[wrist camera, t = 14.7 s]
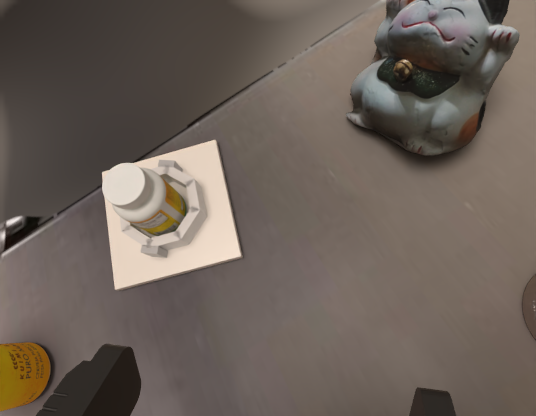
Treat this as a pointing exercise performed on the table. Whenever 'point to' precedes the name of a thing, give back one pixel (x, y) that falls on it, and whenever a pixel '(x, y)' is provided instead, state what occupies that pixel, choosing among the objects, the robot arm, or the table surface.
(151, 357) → the table surface
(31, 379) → the beer can
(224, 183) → the socket base
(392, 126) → the lucky cat figurine
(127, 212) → the supplement bottle
